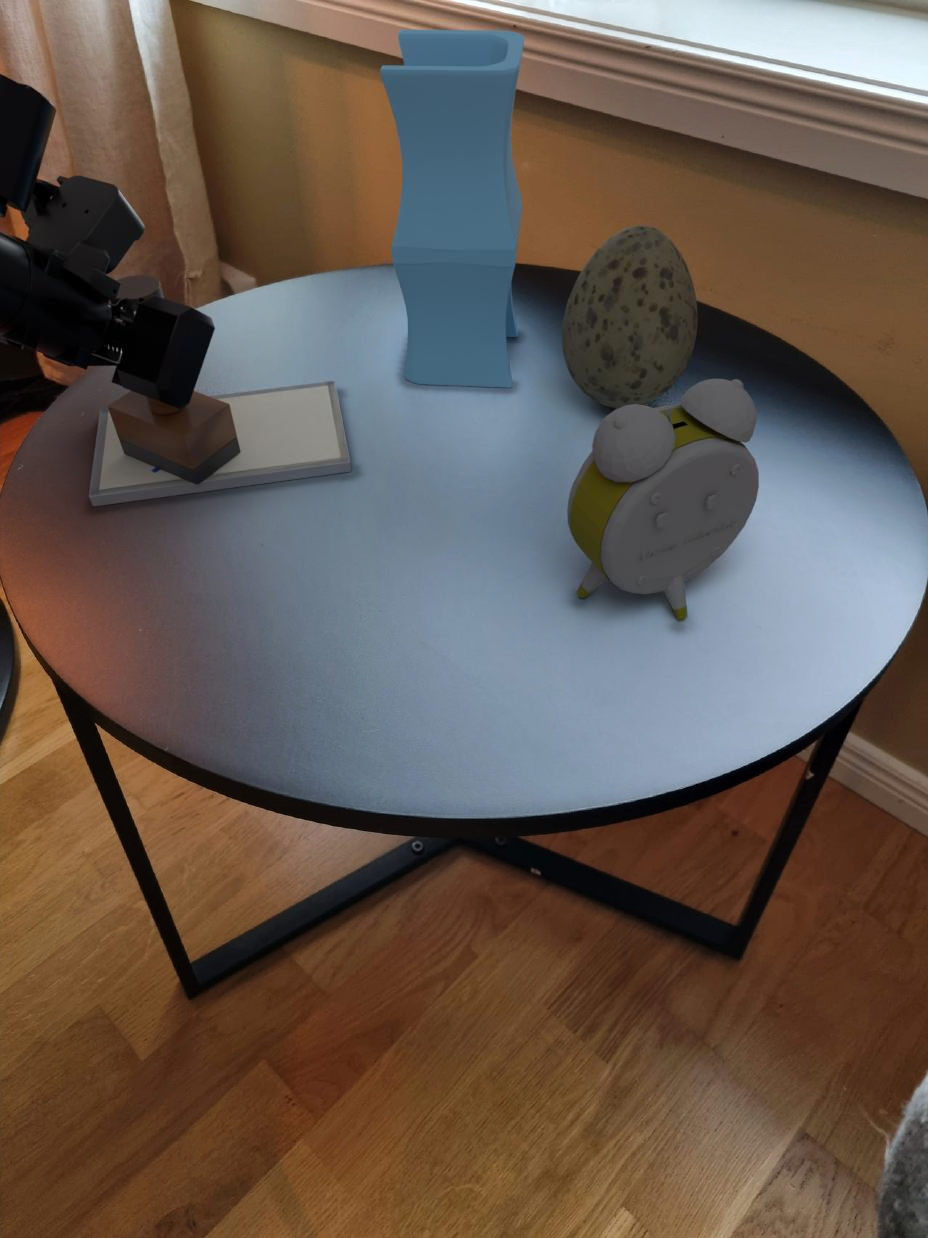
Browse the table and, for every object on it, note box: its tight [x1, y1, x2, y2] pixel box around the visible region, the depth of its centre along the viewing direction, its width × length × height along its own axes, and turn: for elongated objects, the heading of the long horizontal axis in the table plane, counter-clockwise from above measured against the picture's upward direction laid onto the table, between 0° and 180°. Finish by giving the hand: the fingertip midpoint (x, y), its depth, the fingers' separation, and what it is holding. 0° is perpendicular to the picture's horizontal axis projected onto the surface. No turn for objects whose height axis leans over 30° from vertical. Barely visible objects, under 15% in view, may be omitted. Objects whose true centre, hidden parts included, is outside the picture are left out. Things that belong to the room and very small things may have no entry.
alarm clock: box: [566, 378, 760, 620], centre depth 58 cm, size 12×7×15 cm, turn 117°
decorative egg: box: [561, 224, 698, 410], centre depth 74 cm, size 11×11×15 cm
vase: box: [379, 29, 525, 389], centre depth 76 cm, size 10×10×25 cm
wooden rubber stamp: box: [107, 274, 240, 485], centre depth 69 cm, size 5×8×14 cm, turn 58°
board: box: [88, 380, 352, 507], centre depth 76 cm, size 20×12×1 cm, turn 101°
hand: (171, 363), depth 69 cm, fingers closed on wooden rubber stamp, 3 cm apart
